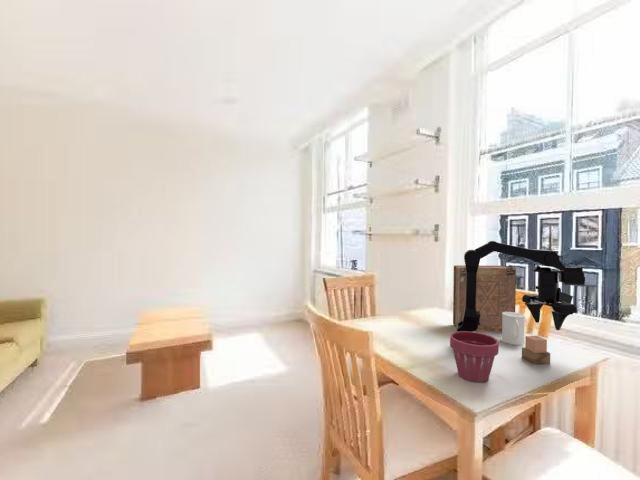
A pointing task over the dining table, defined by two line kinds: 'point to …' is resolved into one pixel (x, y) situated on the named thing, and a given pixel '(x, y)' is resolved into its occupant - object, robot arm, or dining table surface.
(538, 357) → the base block
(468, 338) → the plant pot
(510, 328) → the mug
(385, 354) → the dining table surface
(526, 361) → the gray square frame
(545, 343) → the cube
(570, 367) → the dining table surface
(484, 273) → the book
